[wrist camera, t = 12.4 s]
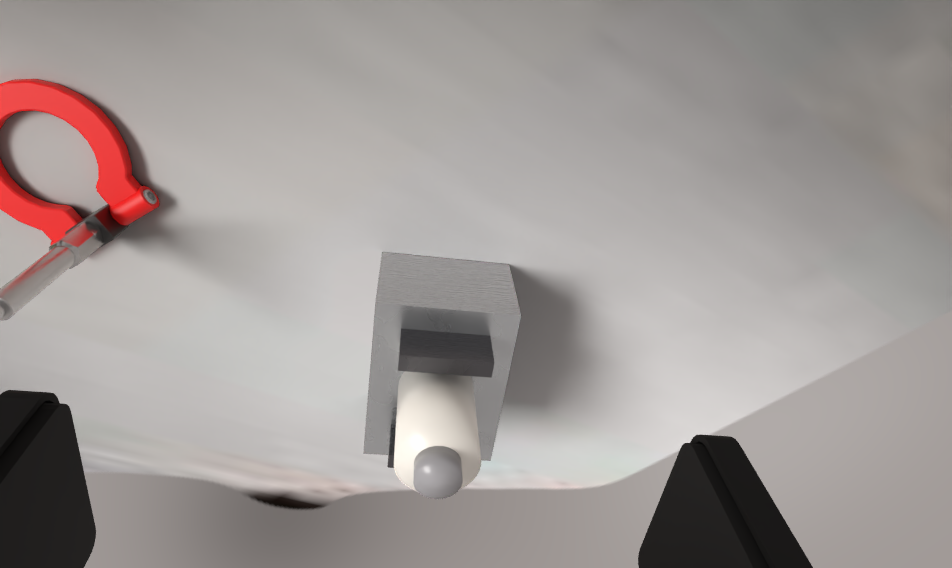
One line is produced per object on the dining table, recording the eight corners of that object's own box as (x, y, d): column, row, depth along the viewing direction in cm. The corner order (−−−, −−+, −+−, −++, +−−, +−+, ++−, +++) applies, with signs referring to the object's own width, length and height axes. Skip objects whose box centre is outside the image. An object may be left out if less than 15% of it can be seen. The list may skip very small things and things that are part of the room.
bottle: (401, 355, 36) (396, 445, 30) (478, 360, 37) (489, 450, 30) (395, 414, 38) (389, 511, 32) (468, 419, 39) (476, 514, 33)
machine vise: (382, 252, 40) (371, 328, 32) (509, 264, 41) (527, 341, 33) (368, 417, 46) (357, 512, 39) (478, 424, 47) (488, 518, 40)
